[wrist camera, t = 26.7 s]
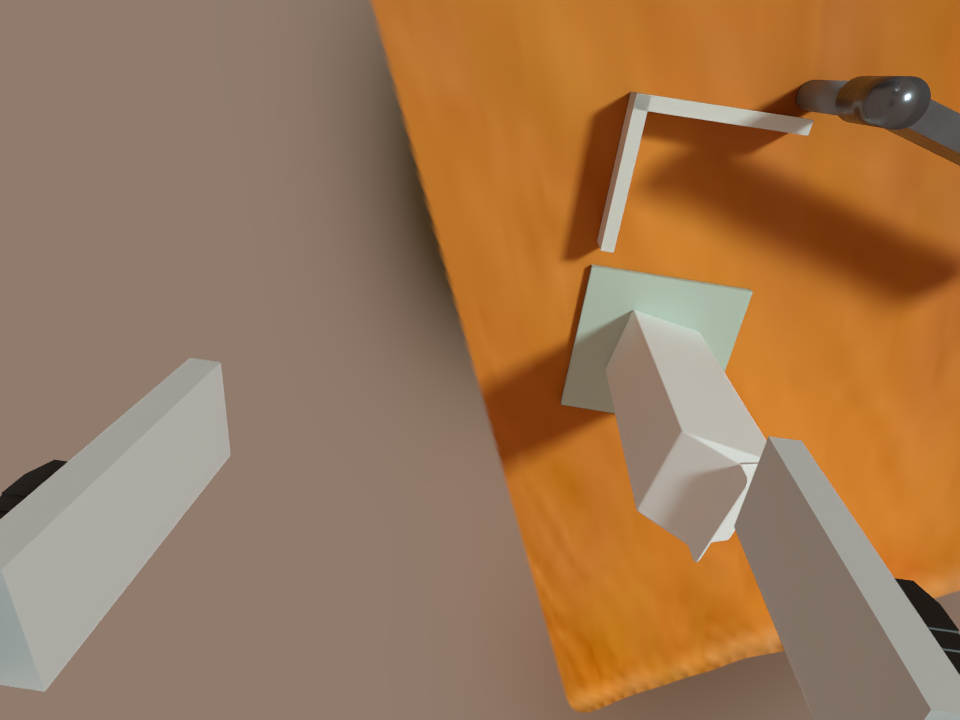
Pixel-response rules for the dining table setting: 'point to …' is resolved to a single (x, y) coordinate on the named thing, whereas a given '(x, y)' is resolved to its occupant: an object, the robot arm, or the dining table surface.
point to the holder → (808, 98)
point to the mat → (655, 295)
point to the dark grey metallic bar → (902, 112)
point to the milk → (681, 431)
